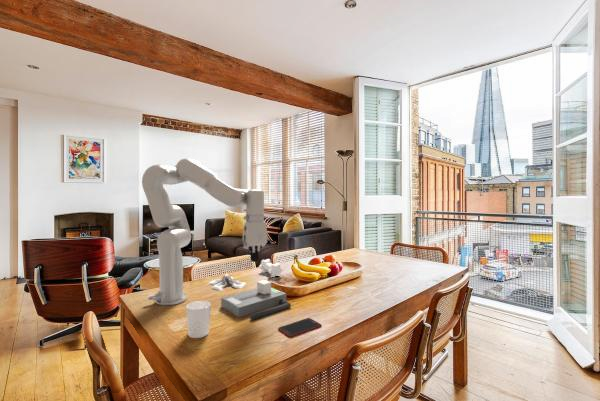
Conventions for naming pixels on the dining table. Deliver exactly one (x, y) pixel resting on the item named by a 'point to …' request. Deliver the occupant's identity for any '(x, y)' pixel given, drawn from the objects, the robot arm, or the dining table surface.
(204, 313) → the white cup
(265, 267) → the bone shaped toy
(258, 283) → the white cube
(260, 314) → the dark grey flat bar
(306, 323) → the cell phone
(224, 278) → the cloth
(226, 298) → the box
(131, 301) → the dining table surface
